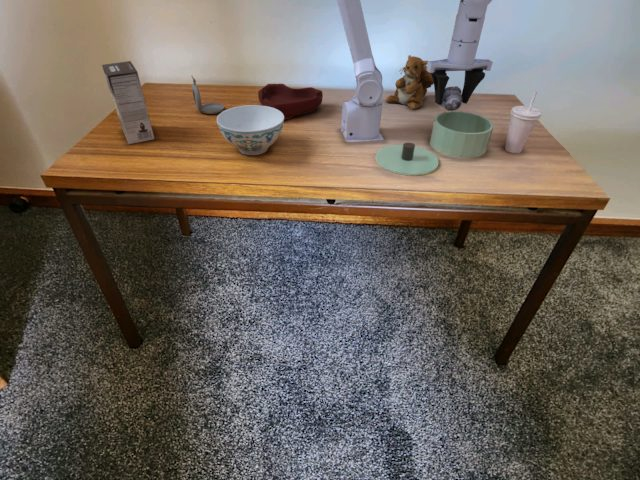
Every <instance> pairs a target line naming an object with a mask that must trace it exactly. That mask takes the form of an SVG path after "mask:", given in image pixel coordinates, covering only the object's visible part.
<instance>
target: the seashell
mask: <svg viewBox="0 0 640 480" xmlns="http://www.w3.org/2000/svg"><path fill="white" fill-rule="evenodd" d="M461 95H462V88H460V87H459V86H458V85H455V86H446V88H445V91H444V95H443V100H442V104H441V105H440V106H441V107H442V108H443V109H445V110H447V112H450V111H458V110H459V109H460V108H461V106H462V103H463V102H462V96H461Z"/></svg>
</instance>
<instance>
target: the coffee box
mask: <svg viewBox="0 0 640 480" xmlns="http://www.w3.org/2000/svg"><path fill="white" fill-rule="evenodd" d="M101 67H102V70H103V74H104V76H105V79H106V83H107V87H108V90H109V93H110V96H111V100H112V102H113V106H114V108H115V111H116V115H117V118H118V120H119V124H120V127H121V129H122V132H123V134H124V137H125V139H126V142H127V144H128V145H134V144H138V143H144V142H147V141H152V140H155V139H156V138H155V134H154V131H153V126H152V123H151V119H150V116H149V112H148V108H147V104H146V99H145V96H144V92H143V88H142V83H141V79H140V76H139V72H138V70H137V69H136V67H135V66H134V64H133V63H132V61H131V60H128V61H122V62H121V61H120V62H113V63H106V64H101Z"/></svg>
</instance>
